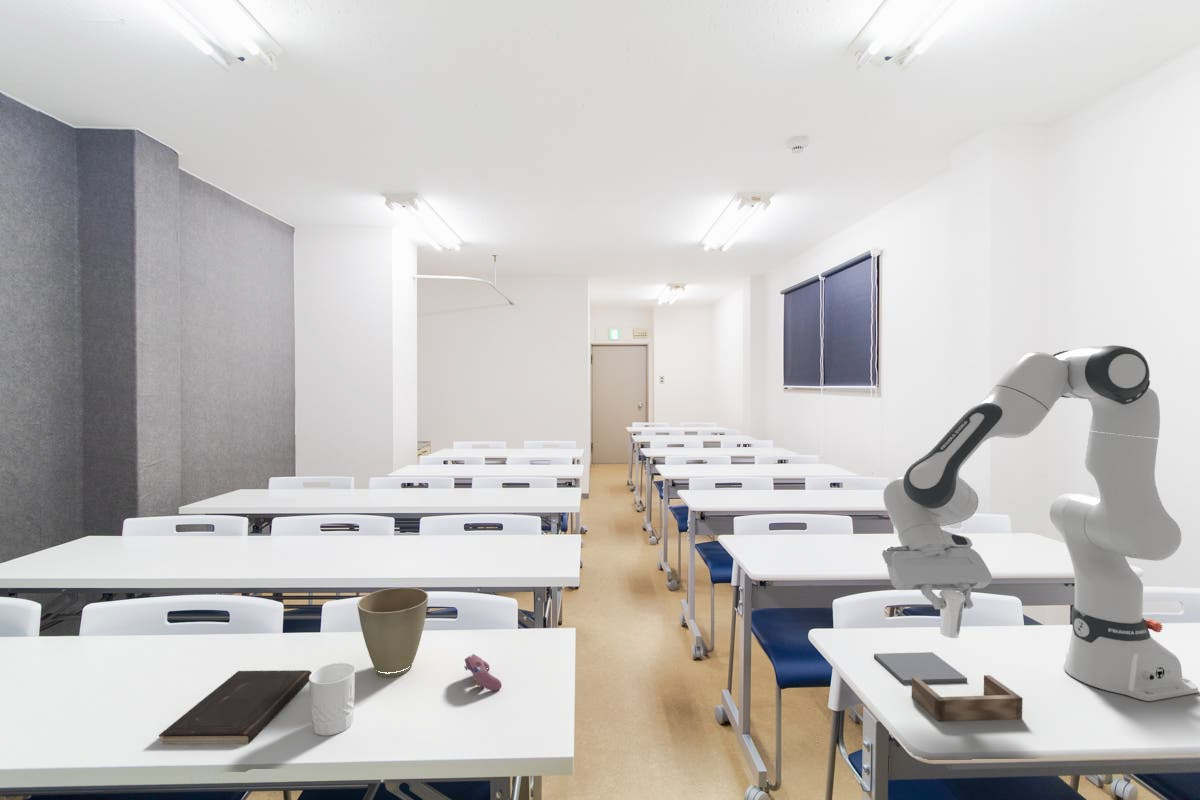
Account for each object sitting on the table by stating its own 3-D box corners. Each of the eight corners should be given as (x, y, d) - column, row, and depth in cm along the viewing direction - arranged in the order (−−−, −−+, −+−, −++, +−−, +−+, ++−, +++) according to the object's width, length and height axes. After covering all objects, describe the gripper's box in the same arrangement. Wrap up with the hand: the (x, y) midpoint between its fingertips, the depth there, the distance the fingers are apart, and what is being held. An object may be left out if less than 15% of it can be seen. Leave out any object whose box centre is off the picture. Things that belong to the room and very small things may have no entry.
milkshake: (970, 641, 116) (974, 591, 116) (941, 638, 117) (945, 588, 117) (961, 632, 120) (964, 584, 120) (933, 628, 121) (936, 581, 121)
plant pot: (342, 679, 126) (341, 606, 125) (390, 649, 140) (389, 584, 139) (399, 692, 121) (398, 616, 120) (442, 660, 135) (441, 591, 134)
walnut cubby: (989, 694, 120) (989, 675, 119) (1022, 718, 111) (1022, 698, 111) (911, 696, 119) (911, 677, 119) (938, 721, 110) (938, 700, 110)
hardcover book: (159, 747, 104) (158, 734, 103) (238, 681, 127) (238, 670, 126) (249, 746, 104) (249, 734, 104) (312, 680, 127) (312, 670, 127)
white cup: (343, 708, 115) (342, 658, 114) (364, 723, 110) (363, 671, 109) (302, 727, 109) (301, 674, 108) (322, 743, 104) (321, 688, 103)
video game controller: (472, 681, 128) (457, 656, 127) (490, 667, 130) (476, 643, 128) (485, 702, 120) (470, 676, 118) (504, 688, 121) (489, 661, 120)
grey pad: (932, 655, 136) (932, 652, 136) (967, 681, 124) (967, 678, 124) (874, 657, 136) (874, 653, 136) (903, 683, 124) (903, 680, 124)
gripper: (885, 539, 124) (911, 602, 115) (977, 538, 126) (1010, 600, 116) (873, 554, 129) (898, 615, 120) (962, 552, 130) (993, 613, 121)
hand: (954, 607), depth 118 cm, fingers closed on milkshake, 4 cm apart
